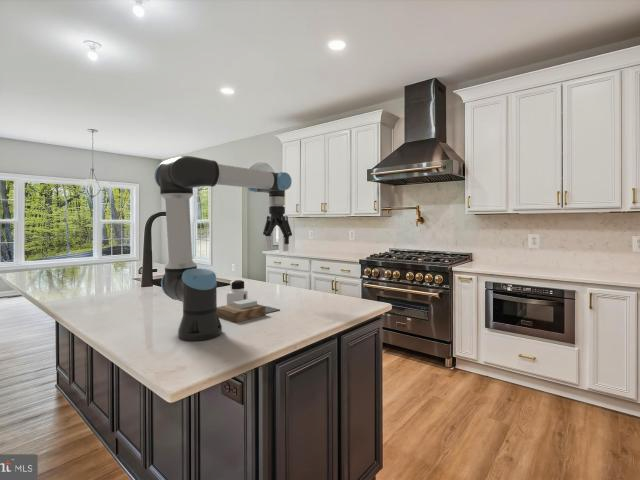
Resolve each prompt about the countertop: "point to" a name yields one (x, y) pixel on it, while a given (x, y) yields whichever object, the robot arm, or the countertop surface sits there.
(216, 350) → the countertop surface
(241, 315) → the brown wooden flat block
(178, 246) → the robot arm
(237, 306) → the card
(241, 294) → the container
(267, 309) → the mat
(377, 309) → the countertop surface
